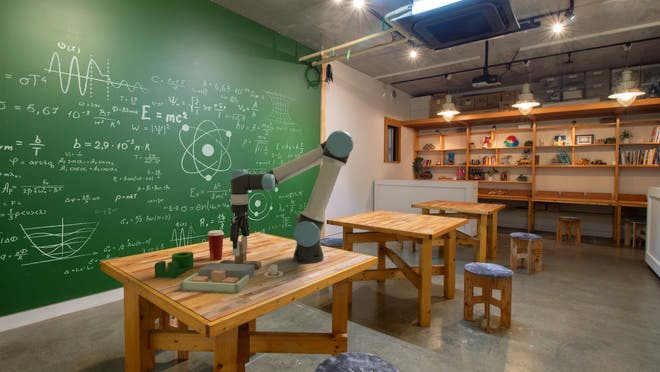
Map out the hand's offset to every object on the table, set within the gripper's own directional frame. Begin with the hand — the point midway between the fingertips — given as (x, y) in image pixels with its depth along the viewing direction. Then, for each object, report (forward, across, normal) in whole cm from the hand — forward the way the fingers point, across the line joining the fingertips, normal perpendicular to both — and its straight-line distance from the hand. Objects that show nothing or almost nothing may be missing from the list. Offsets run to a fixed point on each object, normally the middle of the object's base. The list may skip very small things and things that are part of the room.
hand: (240, 252), depth 147 cm
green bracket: (+7, +8, -26) cm, 28 cm away
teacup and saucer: (+8, +4, +20) cm, 21 cm away
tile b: (+4, +20, 0) cm, 20 cm away
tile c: (+4, +24, -6) cm, 25 cm away
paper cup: (+7, -12, -18) cm, 23 cm away
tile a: (+4, +24, +6) cm, 25 cm away
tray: (+7, +24, 0) cm, 24 cm away
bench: (+7, +14, 0) cm, 15 cm away
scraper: (+7, 0, 0) cm, 7 cm away
